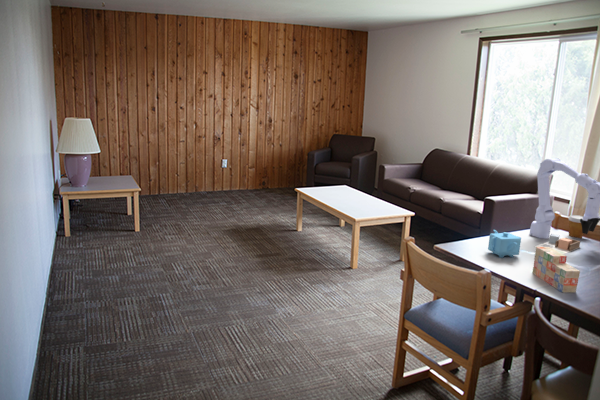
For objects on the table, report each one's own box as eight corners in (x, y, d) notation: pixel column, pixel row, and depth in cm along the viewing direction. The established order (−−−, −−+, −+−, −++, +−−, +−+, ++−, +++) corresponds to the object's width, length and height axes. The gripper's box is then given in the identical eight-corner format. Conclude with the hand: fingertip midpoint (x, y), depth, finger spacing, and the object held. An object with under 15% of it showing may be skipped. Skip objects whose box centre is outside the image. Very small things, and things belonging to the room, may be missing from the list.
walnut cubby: (554, 247, 243) (555, 241, 243) (564, 243, 250) (565, 237, 249) (569, 251, 238) (570, 244, 237) (579, 247, 244) (580, 241, 244)
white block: (548, 242, 250) (549, 235, 249) (550, 241, 253) (551, 233, 252) (557, 244, 248) (558, 237, 247) (558, 242, 251) (559, 235, 250)
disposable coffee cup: (583, 237, 267) (587, 216, 264) (585, 241, 258) (589, 220, 256) (564, 234, 271) (568, 214, 268) (565, 238, 262) (569, 217, 259)
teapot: (499, 261, 223) (502, 238, 220) (477, 249, 240) (480, 227, 237) (528, 260, 226) (532, 237, 223) (505, 247, 243) (508, 226, 241)
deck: (533, 248, 243) (533, 246, 243) (551, 242, 255) (552, 240, 255) (562, 256, 232) (562, 254, 232) (579, 249, 244) (580, 247, 244)
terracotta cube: (557, 247, 242) (559, 239, 241) (561, 246, 245) (563, 237, 244) (567, 250, 239) (568, 241, 238) (571, 248, 242) (572, 240, 241)
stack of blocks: (576, 292, 190) (581, 263, 187) (561, 293, 190) (566, 263, 187) (545, 272, 211) (549, 246, 208) (531, 272, 210) (535, 246, 207)
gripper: (595, 210, 230) (590, 236, 233) (607, 206, 239) (602, 232, 242) (580, 206, 235) (575, 233, 238) (592, 203, 244) (587, 228, 247)
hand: (587, 232), depth 240 cm, fingers open, 7 cm apart
